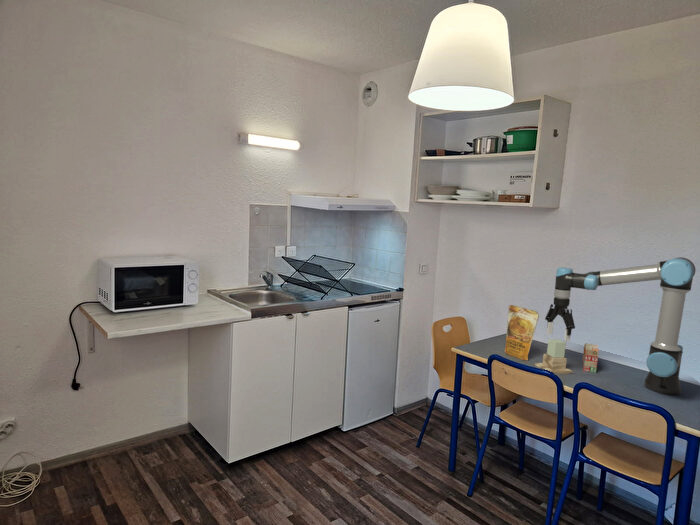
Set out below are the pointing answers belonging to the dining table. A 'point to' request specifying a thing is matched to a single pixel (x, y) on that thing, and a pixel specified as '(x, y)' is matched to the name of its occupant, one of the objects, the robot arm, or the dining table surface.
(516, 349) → the pancake mix bag
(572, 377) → the dining table surface
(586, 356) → the printed food box
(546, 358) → the tower base
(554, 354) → the sage block
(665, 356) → the robot arm
